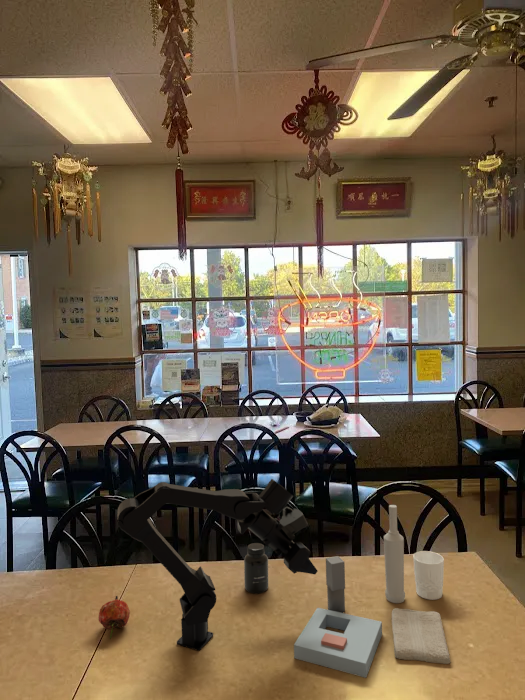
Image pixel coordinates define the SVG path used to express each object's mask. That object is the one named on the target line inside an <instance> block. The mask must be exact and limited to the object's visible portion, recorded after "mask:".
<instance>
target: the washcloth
mask: <svg viewBox="0 0 525 700" xmlns="http://www.w3.org/2000/svg"><path fill="white" fill-rule="evenodd" d="M391 626H392V627H391V628H392V637H393V638H392V639H393V648H394V649H393V652H394V658H397V659H398V660H399V659H400V660H405V661H406V660H407V661H413V660H414V661H420V662H426V663H434V664H444V665H448V664H451V663H452V662H451V657H450V656H451V655H450V653H449V648H448V644H447V641H446V634H445V631H444V630H445V629H444V627H443V622H442V618H441V614H440V613H439V612H437V611H434V610H430V611H424V610H423V611H422V610H413V609H409V608H398V607H396V608H393V609H392V611H391Z"/></svg>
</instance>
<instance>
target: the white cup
mask: <svg viewBox="0 0 525 700" xmlns="http://www.w3.org/2000/svg"><path fill="white" fill-rule="evenodd" d="M412 555H413V556H412V558H413V559H412V560H413V573H414V582H415V591H416V594H417V595H418V596H419V597H420V598H423V599H425V600H429V601H430V600H431V601H432V600H433V601H434V600H439V599H441V598H442V597H443V591H444V589H443V587H444V567H445V566H444V565H445V558H444V557H443V555H441V553H440V554H439V553H437V552H435V551H430V550H429V551H428V550H421V551H417V552H416V551H415V552H414V553H413V554H412Z"/></svg>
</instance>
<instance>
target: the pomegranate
mask: <svg viewBox="0 0 525 700" xmlns="http://www.w3.org/2000/svg"><path fill="white" fill-rule="evenodd" d="M118 598H119V597H118V595H115V598H114V599H113V600H110V601H107V602H106V603H104V604H102V606H101V608H99V611H98V622H99V623H100V625H102V627H103V628H105V629H107V630H110V636H109V639H110V640H111V639H112V635H113V632H114V629H115V628H124V627H126V625H127V624H128V621H129V619H130V613H131V611H130V608H129V605H128V603H127V602H126V601H124V600H119V599H118Z"/></svg>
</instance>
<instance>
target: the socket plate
mask: <svg viewBox="0 0 525 700" xmlns="http://www.w3.org/2000/svg"><path fill="white" fill-rule="evenodd" d="M327 627H328V628H332V629H336V630H339V631H340V630H341V631H344V632H343V633H342V632H338V631H333V630H329V629H326V628H327ZM382 635H383V621H381V620H375V619H371V618H367V617H362V616H359V615H353V614H348V613H345V612H344V613H340V612H336V611H331V610H328V608H327V609H326V608H323V607H316V609H315V610H314V612H313V614H312V615H311V617H310V619H309V620H308V622H307V624H306V625H305V627H304V628H303V630H302V631H301V633H300V634H299V636H298V638H297V639H296V640H295V642H294V644H293V656H294V657H293V658H294V659H297V660H299V661H304V662H307V663H311V664H315V665H318V666H322V667H326V668H329V669H333V670H336V671H340V672H344V673H347V674H351V675H355V676H358V677H361V678H365V679H366V678H367V676H368V673H369V671H370V668H371V666H372V662H373V660H374V658H375V654H376V652H377V649H378V646H379V643H380V641H381V639H382Z"/></svg>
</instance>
